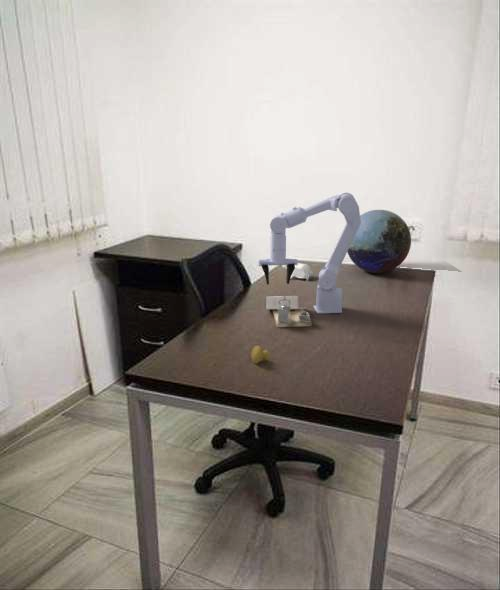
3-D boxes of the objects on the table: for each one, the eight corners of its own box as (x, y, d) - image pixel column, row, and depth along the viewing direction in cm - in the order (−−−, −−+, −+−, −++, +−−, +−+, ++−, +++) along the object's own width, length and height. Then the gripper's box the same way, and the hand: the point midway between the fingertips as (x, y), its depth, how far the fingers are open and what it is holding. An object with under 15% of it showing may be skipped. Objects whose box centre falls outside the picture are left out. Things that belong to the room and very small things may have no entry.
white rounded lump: (309, 282, 220) (282, 268, 224) (316, 267, 216) (289, 252, 220) (303, 287, 213) (275, 272, 217) (310, 272, 209) (282, 256, 213)
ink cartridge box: (267, 295, 179) (306, 295, 177) (267, 308, 179) (306, 308, 177) (266, 296, 170) (306, 295, 169) (266, 309, 170) (306, 309, 169)
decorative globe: (416, 280, 211) (423, 215, 201) (350, 281, 212) (354, 215, 202) (397, 263, 239) (403, 205, 230) (339, 263, 240) (342, 205, 230)
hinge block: (290, 319, 163) (290, 304, 161) (287, 322, 160) (288, 308, 158) (280, 317, 164) (280, 303, 163) (278, 321, 161) (278, 307, 159)
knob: (256, 366, 134) (256, 351, 132) (249, 359, 138) (249, 344, 137) (270, 363, 136) (271, 348, 134) (263, 356, 140) (263, 341, 139)
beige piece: (304, 312, 174) (304, 300, 173) (311, 326, 161) (312, 314, 160) (272, 313, 174) (272, 301, 172) (277, 328, 161) (277, 315, 159)
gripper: (295, 245, 176) (294, 279, 180) (257, 246, 175) (257, 280, 179) (298, 250, 169) (297, 285, 174) (259, 250, 168) (259, 286, 173)
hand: (277, 283), depth 176 cm, fingers open, 7 cm apart
